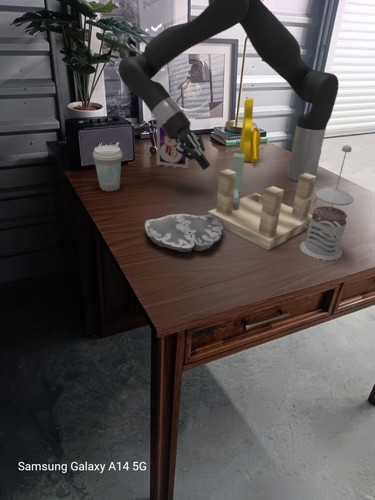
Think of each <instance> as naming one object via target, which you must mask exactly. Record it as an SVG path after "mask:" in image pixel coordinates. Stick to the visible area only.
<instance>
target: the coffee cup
mask: <svg viewBox="0 0 375 500" xmlns="http://www.w3.org/2000/svg"><path fill="white" fill-rule="evenodd" d="M92 157H93V159H94V160H93V161H94V164H95V170H96V174H97V178H98V179H97V180H98V184H99V188H101V189H102V190H101V189H100V190H101V191H104V190H105V191H104V192H114V190H115V191H117V189H118V190H119V189H120V184H121V169H122V168H121V167H122V157H123V152H122V151H121V148H120V147H119V146H116V145H100V146H96V147H95V148H94V149H93V153H92Z"/></svg>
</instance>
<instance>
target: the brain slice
mask: <svg viewBox="0 0 375 500" xmlns="http://www.w3.org/2000/svg"><path fill="white" fill-rule="evenodd" d="M144 229H145V233H146V235H147V237H149V238H150V240H151V241H152V242H153V243H154V244H155V245H157V246H159V248H160V247H161V248H166V249H170V250H173V251H178V252H180V253H187V252H188V253H189V252H190V253H191V252H192V251H195V252H203V251H205V250H208V249H209V248H212V246H213V245H214V244H216V243H217V242H218V241H219V240H221V237H222V236H223V231H224V230H225V226H224V223H223V222H222V221H221V220H219V218H217V217H215V216H211V215H208V214H206V215H205V214H204V215H193V214H187V213H178V214H176V213H175V214H168V215H165V216H162V217H159V218H152V219H148V220H147V219H146V220H145V223H144Z"/></svg>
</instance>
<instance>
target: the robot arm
mask: <svg viewBox="0 0 375 500" xmlns="http://www.w3.org/2000/svg"><path fill="white" fill-rule="evenodd" d="M207 1H208V5H207V6H206V7H205V9H204V10H203V11H202V12H200V14H198V15H197V16H196V17H195V18H194V19H192V20H189V21H187V22H185V23H184V22H183V23H180V24H175V25H171V26H168V27H167V28H165V29H163V30H162V31H161V32H159V33H158V34H157V35H156V36H155V37H153V38H152V39H151V40H150V41H148V43H147V44H146V45H145V47H144V49H143V50H144V51H143V52H142V53H141V54H139V55H134V56H126V57H123V58H122V59H120V61H119V64H118V74H119V77H120V79H121V81H122V82H123V83H124V85H125V86H126V87H127V88H128V89H129V90H130V91H131V92H133V94H134V95H136V96H137V98H139V99H141V101H142V102H143V103H144V104H145V105H146V107H147V108H148V109H149V111H150V112H151V114H152V115H153V117H154V119H155V121H156V123H157V122H158V124H159V125H160V126H161V128H162V129H163V130H164V132H165V133H166V134H167V136H168V137H169V138H170V139H175V141H176V143H177V144H178V147H177V148H176V151H177V152H179V153H180V154H182V155H183V156H185V157H186V158H188V159H189V161H192V160H193V161H196V162H197V164H198V165H199V166H200V168H201V169H202V170H203V171H205V170H206V169H208V168H209V167H210V166H211V164H210V162H209V161H208V159H207V158H206V156H205V155H204V154H205V153H204V152H205V151H206V148H205V145H204V141H203V137H202V135H201V134H198V135H196V134H195V132H194V131H193V130H192V129H191V128H190V129H189V126H190V127H191V124H192V123H191V121H190V120H189V118H188V117H187V115H186V114H185V113H184V111H183V110H182V108H181V107H180V105H178V103H177V102H176V101H175V100H174V99H173V98H172V97H171V94H170V93H169V92H168V90H167V89H166V88H165V87H164V86H163V84H162V83H161V82H159V81H156V80H153V77H155V76H156V75H157V74H158V73H159V72H160V71H161V69H163V67H165V66H167V64H169V63H170V62H172V61H173V60H175V59H176V58H178V57H179V56H180V55H181V54H183V53H185V52H186V51H188V50H189V49H190V48H192V47H195V46H196V45H198V44H201V43H203V42H205V41H207V40H209V39H211V38H212V37H214V36H217V35H218V34H221V33H222V32H225V31H227V30H229V29H231V28H233V27H234V26H237V24H240V26H241V27H242V29H243V30H244V33H245V35H246V36H247V38H248V40H249V42H250V44H251V47H253V49H254V50H255V52H256V53H257V55H258V56H259V57H260V59H261V60H262V61H264V62H265V63H266V64H267V65H268V66H269V67H270V68H271V69H272V70H273V71H274V72H276V73H277V74H278V75H279V76H280V77H281V78H282V79H283V80H284V81H285V82H286V83H287V84H288V85H289V86H290V87H291V88H292V90H293V91H294V93H295V94H296V95H297V97H298V98H299V99H301V100H302V101H303V102H305V103H308V104H311V108H310V109H309V110H310V111H309V112H308V113H303V114H300V115H298V117H297V120H296V126H295V131H294V137H293V141H292V142H293V143H292V146H291V153H290V159H289V162H288V163H289V164H288V169H287V172H286V173H287V178H288V179H290V180H292V181H295V182H298V180H299V176H300V175H302V174H305V173H307V174H311V175H314V176H317V172H318V167H319V163H320V159H321V154H322V147H323V142H324V138H325V134H326V129H327V125H328V123H329V121H330V119H331V117H332V114H333V110H334V107H335V102H336V99H337V97H338V92H339V85H340V84H339V79H338V77H337V75H336V74H334V73H331V72H326V71H319V70H316V69H313V68H311V67H310V66H309V65H308V64H307V63H306V62H305V61H304V60H303V59H302V55H301V54H302V53H301V46H300V43H299V42H298V40H297V38H296V37H295V36H294V35H293V34H292V32H290V31H289V29H288V28H287V27H286V26H285V25H284V24H283V23H282V22H281V21H280V20H279V19H278V18H277V16H275V14H274V13H273V12H272V11H271V10H270V8H268V7H267V6H266V5H265V4H264V3H263V1H262V0H207Z"/></svg>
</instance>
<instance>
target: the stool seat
mask: <svg viewBox="0 0 375 500" xmlns="http://www.w3.org/2000/svg"><path fill="white" fill-rule="evenodd" d="M218 173H219V176H218V183H217V184H218V185H217V194H216V195H217V197H216V207H215V208H213V209H211V210H208V211H207V215H211V216H215V217H217V218H219V220H221V221H222V222H223V223H224V226H225V228H224V230H227V231H228V232H231V233H233V234H234V235H237V236H238V237H241V238H242V239H245V240H247V241H249V242H251V243H253V244H255V245H257V246H259V247H261V248H263V249H265V250H266V251H269V250H271V249H274V247H276V246H279V245H281V244H282V243H284V242H286V241H288V240H290V239H291V238H293V237H295V236H297V235H299V234H300V233H302V232H304V231H307V227H308V229H309V225H308V224H307V223H306V222H308V223H309V224H310V221H311V216H312V215H313V214H310V213H309V212H310V208H311V207H310V206H311V203H312V200H313V199H312V198H310V199H312V200H308V201H307V202H305V204H304V205H303V210H302V214H303V218H304V219H305V221H306V222H305V221H304V220H303V218H302V215H301V211H300V217H301V221H302V222H303V224H305V225H306V226H307V227H305V226H304V225H303V224H302V222H301V221H300V218H299V210H300V207H301V205H302V204H303V203H304V201H305V200H306V199H308V198H309V197H313V196H314V195H313V193H314V189H315V185H316V181H317V175H316V176H314V175H311V174H307V173H305V174H302V175H300V176H299V180H298V181H297V187H296V191H295V197H294V200H293V206H289V205H287V204H285V203H282V201H283V197H284V192H285V191H284V189H282V188H279V187H276V186H274V185H272V186H270V187H267V188H265V189H264V192H263V194H260V193H258V192H253V193H251V194H249V195H246V196H243V197H240V198H239V199H240V204H239V208H238V209H233V201H234V192H235V183H236V174H237V172H234V171H232V169H229V168H227V169H224V170H220V171H219V172H218ZM301 209H302V207H301Z"/></svg>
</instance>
